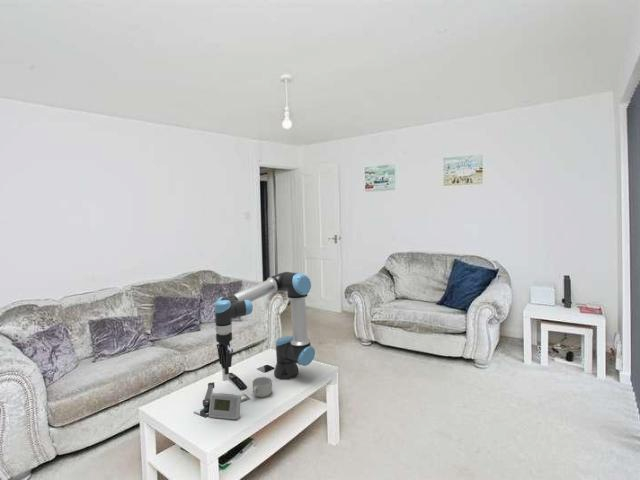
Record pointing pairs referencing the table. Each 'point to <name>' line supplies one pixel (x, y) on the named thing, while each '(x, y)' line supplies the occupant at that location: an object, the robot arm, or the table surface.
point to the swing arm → (208, 394)
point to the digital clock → (224, 406)
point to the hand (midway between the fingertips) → (225, 379)
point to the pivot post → (205, 411)
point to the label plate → (244, 397)
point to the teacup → (262, 386)
